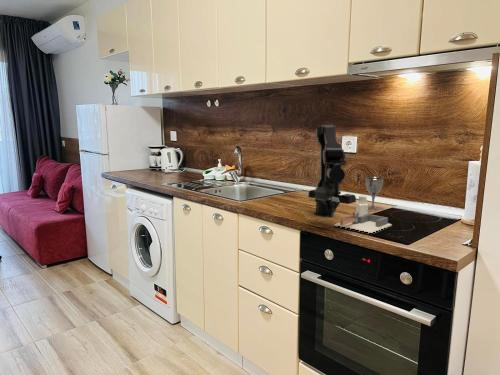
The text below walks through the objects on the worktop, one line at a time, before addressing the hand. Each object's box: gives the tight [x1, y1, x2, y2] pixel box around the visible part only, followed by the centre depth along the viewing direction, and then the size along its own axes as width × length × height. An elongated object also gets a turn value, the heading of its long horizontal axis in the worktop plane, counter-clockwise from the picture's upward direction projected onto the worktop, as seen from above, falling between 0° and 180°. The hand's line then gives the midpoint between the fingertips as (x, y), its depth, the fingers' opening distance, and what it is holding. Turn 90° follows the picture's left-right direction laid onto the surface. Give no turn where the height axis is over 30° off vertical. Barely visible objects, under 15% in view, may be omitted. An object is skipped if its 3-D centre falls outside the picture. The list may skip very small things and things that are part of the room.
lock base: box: [334, 213, 393, 234], centre depth 148 cm, size 16×17×3 cm
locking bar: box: [339, 211, 359, 225], centre depth 146 cm, size 12×2×4 cm, turn 135°
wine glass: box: [365, 176, 384, 211], centre depth 177 cm, size 8×8×15 cm
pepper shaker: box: [355, 195, 369, 217], centre depth 160 cm, size 4×4×10 cm
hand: (330, 217), depth 147 cm, fingers closed
